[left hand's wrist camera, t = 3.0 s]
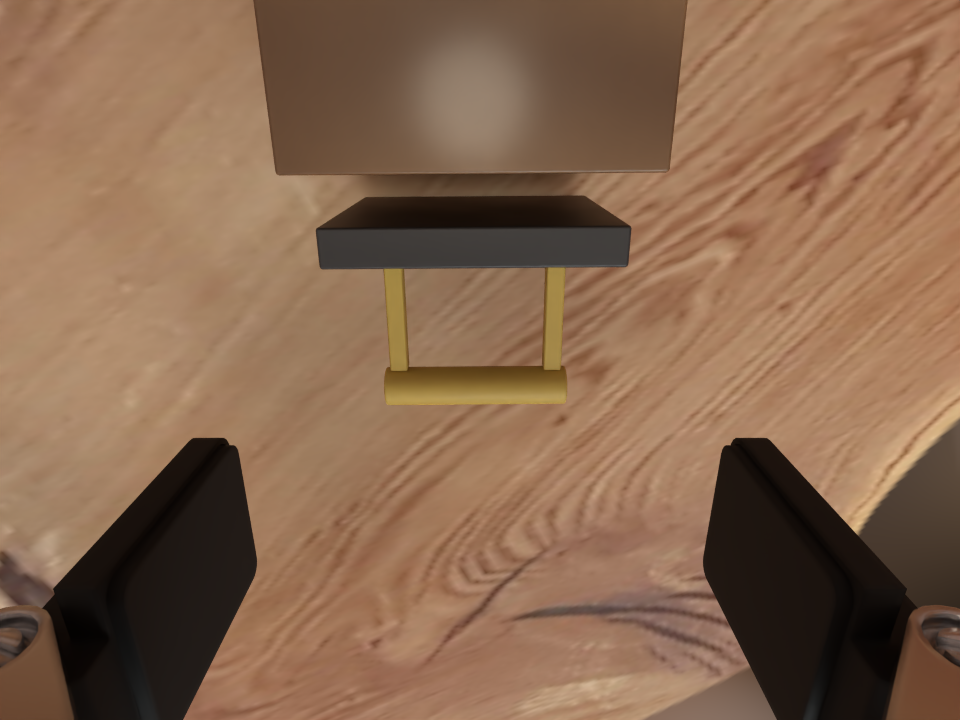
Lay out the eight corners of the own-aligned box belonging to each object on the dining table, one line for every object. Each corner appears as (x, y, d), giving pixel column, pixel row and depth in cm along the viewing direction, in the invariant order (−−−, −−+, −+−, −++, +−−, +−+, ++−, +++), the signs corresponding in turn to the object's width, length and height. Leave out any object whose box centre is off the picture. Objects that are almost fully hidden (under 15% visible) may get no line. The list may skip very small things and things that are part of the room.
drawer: (576, 347, 26) (614, 431, 19) (375, 348, 26) (336, 433, 19) (619, -396, 18) (718, -760, 10) (318, -394, 18) (206, -756, 10)
